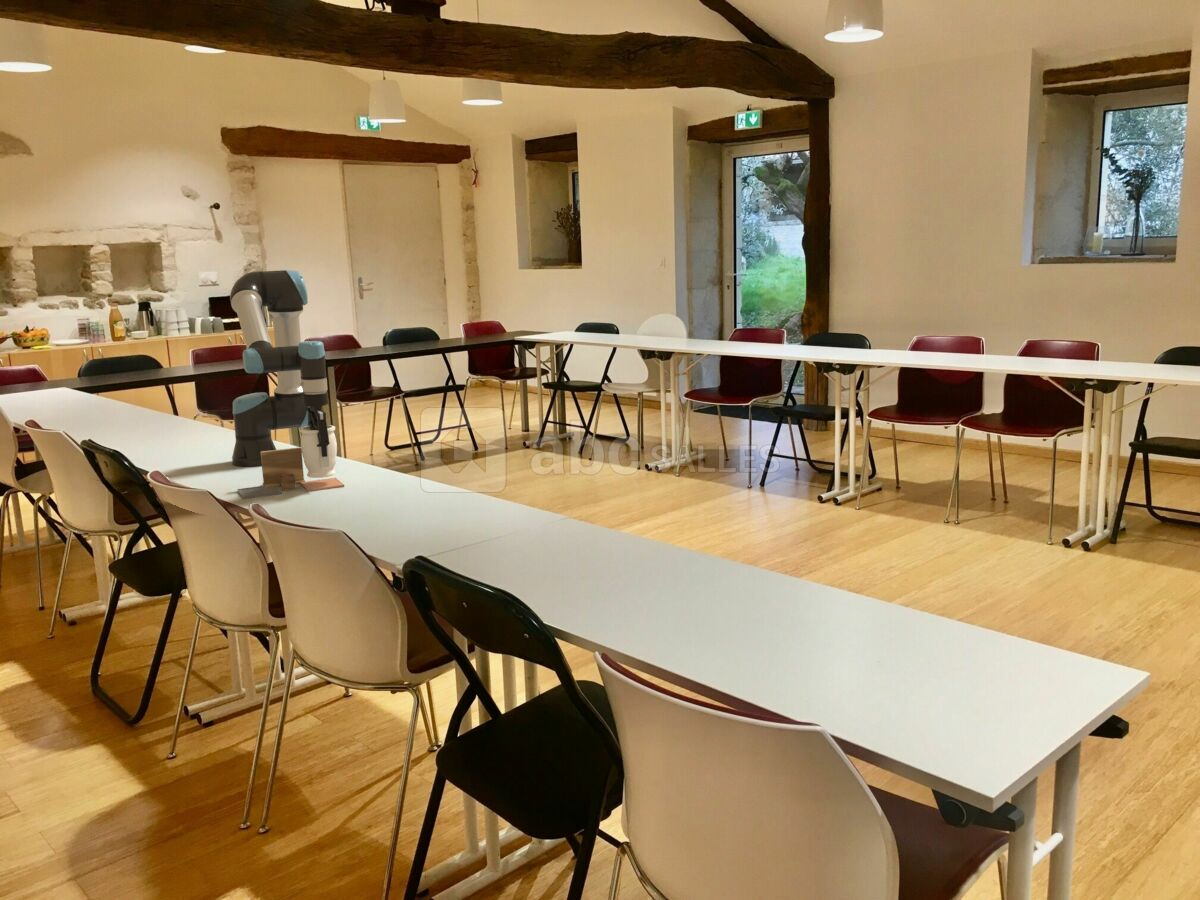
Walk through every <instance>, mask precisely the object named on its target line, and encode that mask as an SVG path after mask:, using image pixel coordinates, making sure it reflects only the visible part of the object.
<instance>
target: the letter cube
mask: <svg viewBox="0 0 1200 900" xmlns="http://www.w3.org/2000/svg"><path fill="white" fill-rule="evenodd" d="M279 482H280V487H279V489H280V490H281V492H282V491H291V490H296V488H297V485H296V483H295V476H294V475H293V474H291V473H286V474H282V475H279Z"/></svg>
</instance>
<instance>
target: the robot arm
mask: <svg viewBox="0 0 1200 900" xmlns="http://www.w3.org/2000/svg"><path fill="white" fill-rule="evenodd" d="M308 299H309V298H308V291H307V286H306V283H305V279H304V277H303V275H302V273H301V272H299V271H298V270H288V269H279V270H264V271H263V270H262V271H261V270H260V271H259V270H256V271H250V272H247V273H244V275H242V276H240V277H239V278H238V279H237V280H236V282H235V283H234V284H233V286H232V287H231V290H230V294H229V300H230V306H231V308H232V310H233V311H234V312H235V313H236V314H237V318H238V322H239V325H240V328H241V332H242V335H243V339H244V343H245V346H246V349H243V350H242V351H243V352H242V361H243V362H242V363H243V368H244V371H245V373H247V374H259V375H260V374H266V373H276V375H277V376H276V377H277V386H276V387H275V388H274V390H273V395H270V396H269V395H268V393H267V392H265V391H264V392H263V391H261V392H254V393H253V392H252V393H249V394H244V395H241V396H238V397H235V399H233V401H232V412H231V413H232V415H233V424H234V435H235V443H234V448H233V453H232V455H231V456H232V457H231V461H232V462H231V463H232V465H234V466H238V467H256V466H262V462H261V452H262V451H271V450H277V448H276V445H275V442H274V441H273V438H272V431H275V430H284V429H295V428H296V429H300V428H303V427H307V426H310V428H311V430H317V431H319V432H318V434H317V437H318V442H319V444H317V447H318V449H319V462H320V468H322V467H329V454H328V445H329V444H330V442H329V437H328V430H327V425H328V424H327V413H326V412H325V411H323V406H327V405H328V404H329V394H328V392H327V391H328V379H327V378H328V377H327V370H326V358H325V357H326V351H325V347H324V346H325V345H324V342H323V341H319V340H306V341H301V340H302V339H301V326H300V325H301V324H300V315H301V314H302V313H303V312H304V306H307V305H308V302H309V301H308ZM262 308H267V313H268V314H269V315H271V316H272V326H273V338H274V346H273V344H272V340H271V336H270V333H269V330H268V327H267V324H266V323H267V322H266V320H265V317H264V314H263V310H262Z"/></svg>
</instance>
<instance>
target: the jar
mask: <svg viewBox="0 0 1200 900" xmlns="http://www.w3.org/2000/svg"><path fill="white" fill-rule="evenodd" d="M327 430H328V437H329V442H330V444H329V445H328V454H329V467H322V468H320V462H319V449H318V447H317V444H319V442H318V437H317V434H318V432H319V431H317V430H311V428H310V426H305V427H300V428H299V432H300V433H301V438H300V447H301V451H302V459H303V463H304V466H305V467H306V470H307V474H306V475H307V477H308V478H312V479H313V478H314V479H315V478H316V479H318V478H320V479H321V478H328V477H331V476H335V474H336V470H335V469H334V468H335V466H336V462H337V453H338V444H337V438H336V435H335V431H336V426H335V425H331V424H327Z"/></svg>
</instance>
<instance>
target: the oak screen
mask: <svg viewBox="0 0 1200 900" xmlns="http://www.w3.org/2000/svg"><path fill="white" fill-rule="evenodd" d="M261 462H262V465H261V470H262V486H265V487H267V486H275V485H276V486H277V487H278V488H280V482H279V475H282V474H286V473H291V474H293V475H294V476H295V483H296V486H297V485H301V484H300V482H306V480H305V477H304V475H305V474H304V465H303V463H304V461H303V455H302V451H301V446H299V447H290V448H289V447H288V448H282V449H276V450H271V451H262V452H261Z"/></svg>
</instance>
